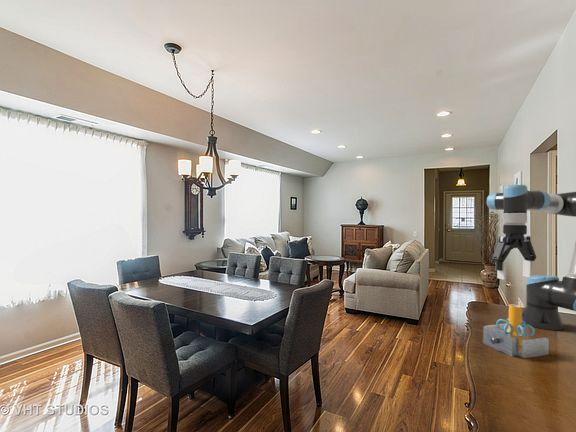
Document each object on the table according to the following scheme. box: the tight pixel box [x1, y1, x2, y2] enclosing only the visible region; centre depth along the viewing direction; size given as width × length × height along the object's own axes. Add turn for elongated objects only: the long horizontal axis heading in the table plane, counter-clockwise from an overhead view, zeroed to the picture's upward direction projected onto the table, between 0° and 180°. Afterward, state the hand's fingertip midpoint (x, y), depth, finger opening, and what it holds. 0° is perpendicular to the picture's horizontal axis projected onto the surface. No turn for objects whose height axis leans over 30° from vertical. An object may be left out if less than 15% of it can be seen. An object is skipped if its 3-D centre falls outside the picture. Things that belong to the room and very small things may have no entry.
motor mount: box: [482, 322, 550, 359], centre depth 118 cm, size 17×16×6 cm
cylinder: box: [495, 303, 536, 347], centre depth 119 cm, size 12×10×15 cm
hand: (514, 277), depth 120 cm, fingers open, 13 cm apart
